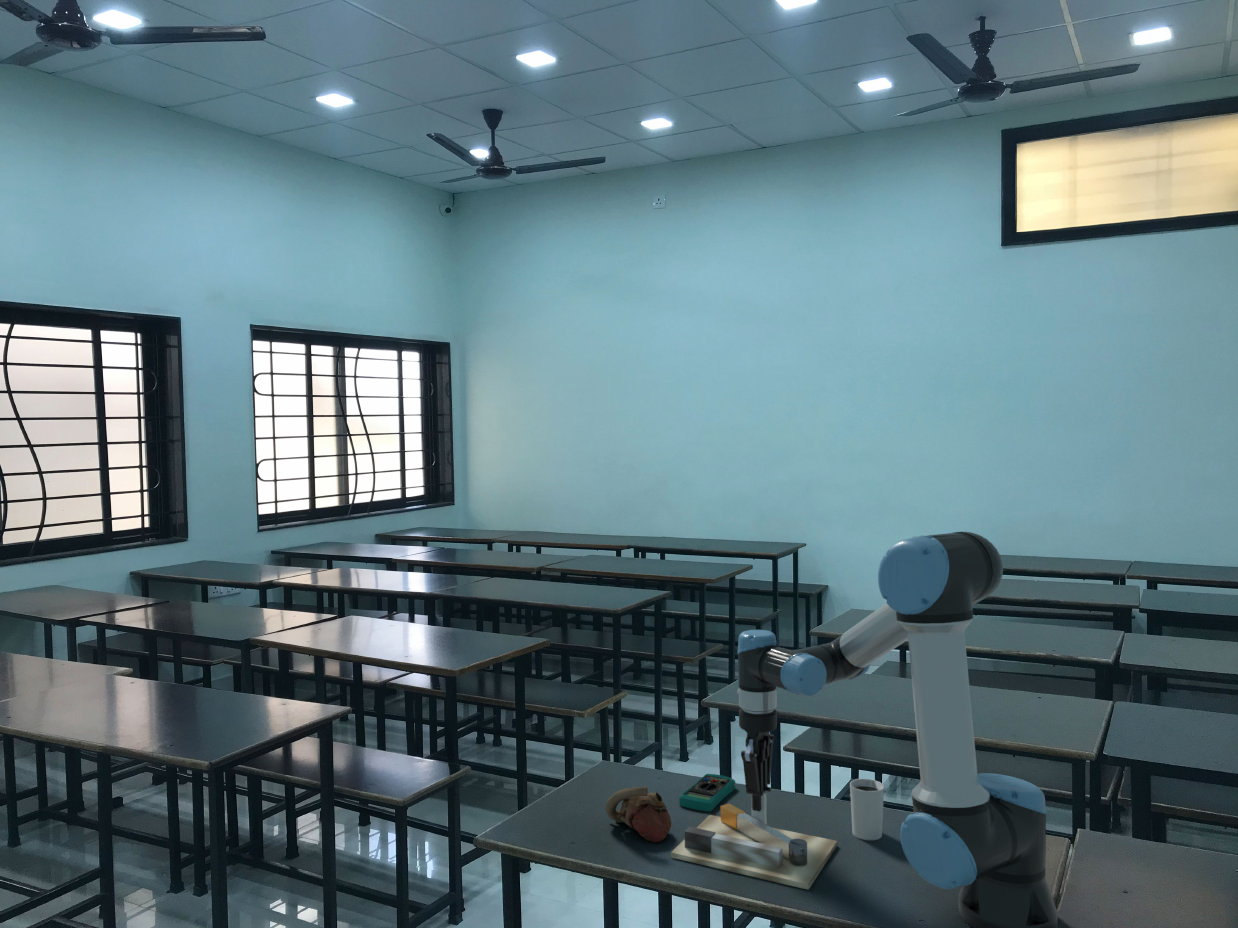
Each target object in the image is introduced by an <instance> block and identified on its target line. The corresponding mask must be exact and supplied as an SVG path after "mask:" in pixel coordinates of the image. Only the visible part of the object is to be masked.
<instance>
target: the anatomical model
mask: <svg viewBox="0 0 1238 928" xmlns="http://www.w3.org/2000/svg"><path fill="white" fill-rule="evenodd" d="M620 803H621V807H620V809H619V810H617V807H618V805H619V804H620ZM605 813H606V815H607V817H608V818H609V819H611V820H612V821H614V822H615V823H616V824H618V823H624V824H626V825H627V826H628V827H629V828H631V829H634V830H635V831H637V833H638V834H639V835H640V836H641V837H643V839H645V841H650V842H652V843H660V842H661V841H663V840H664V839H666V836H667V835H668V834H669V831H670V830H671V828H672V820H671V816H670V813H669V811H668V809H667V805H666V803H665V802H664V801H663V798H662V796H661V795H660V794H659V793H658V792H656V791H655V792H648V786H637V787H628V788H624V789H619V790H618V791H615V792H614V793H613V794H612V795H611V796H610V797H609V798H608V799H607V801H606V803H605Z"/></svg>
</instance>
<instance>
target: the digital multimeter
mask: <svg viewBox="0 0 1238 928" xmlns="http://www.w3.org/2000/svg"><path fill="white" fill-rule="evenodd" d="M734 784H735V785H734ZM735 789H736V780H735V779H733V778H732V777H729V776H727V775H726V776H725V775H722V774H714V773H706V774H705V775H703V776H702V777H701V778H700V779H699V780H698V781H696V782H695V783H694V784H693V785H692V786H691V787H689V788H688V789H687V790H686V791H684V792H683V793H682V794H680V796H679V797H678V799H679V801H678V803H679V806H680V807H683V808H687V809H692V810H696V811H699V812H700V811H701V812H708V813H710V812H712V811H713V810H714V809H715V808H716V807H717V805H719V804H720V803H721V802H722V801H723V800H724V799H725V798H726V797H727V796H728V795H730V793H732V792H734V791H735Z"/></svg>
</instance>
